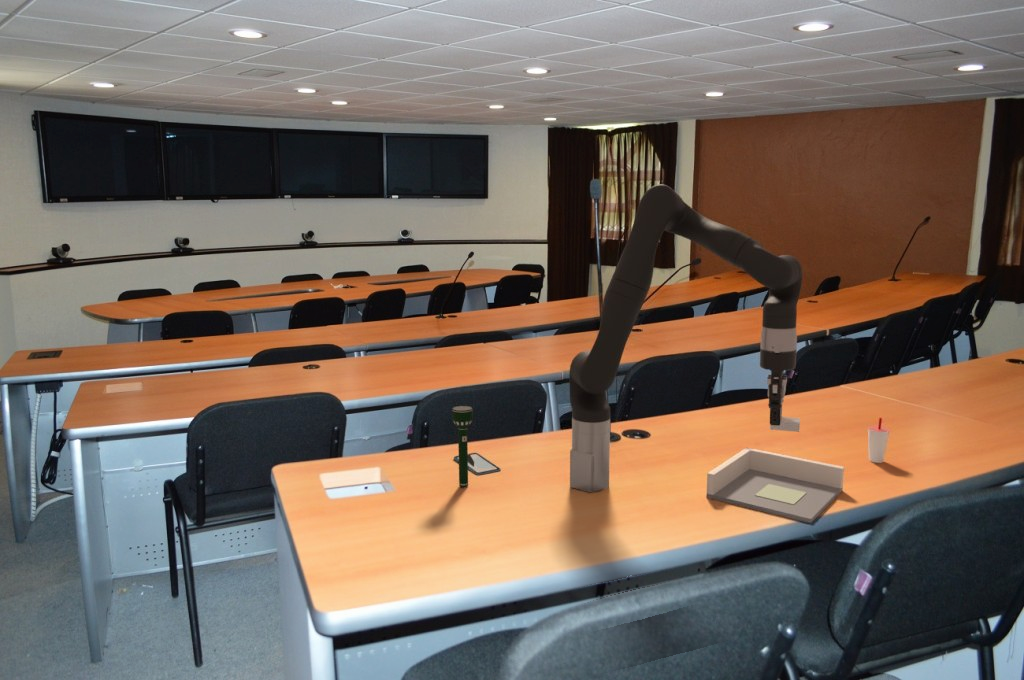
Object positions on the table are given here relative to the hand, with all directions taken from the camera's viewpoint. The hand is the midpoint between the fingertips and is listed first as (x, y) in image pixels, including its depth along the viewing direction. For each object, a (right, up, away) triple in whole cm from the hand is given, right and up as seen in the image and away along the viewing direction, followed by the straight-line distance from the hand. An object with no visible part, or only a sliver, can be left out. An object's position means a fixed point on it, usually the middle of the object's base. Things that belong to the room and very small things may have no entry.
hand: (775, 421), depth 168 cm
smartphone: (-68, -16, +32) cm, 77 cm away
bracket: (+2, -1, -1) cm, 2 cm away
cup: (+39, -14, +34) cm, 53 cm away
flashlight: (-71, -18, +17) cm, 75 cm away
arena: (+4, -18, +11) cm, 22 cm away
